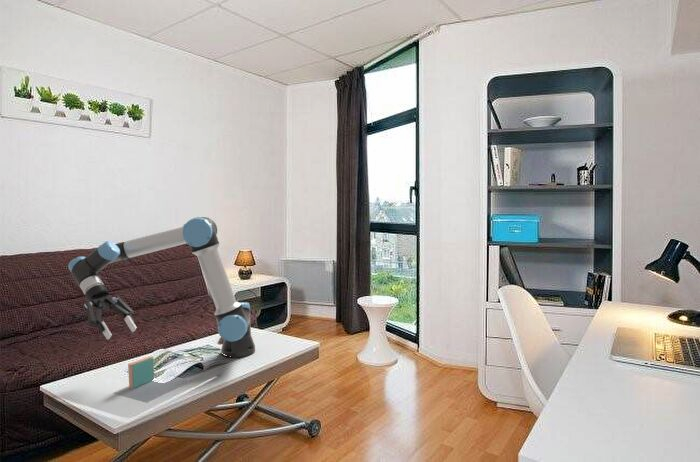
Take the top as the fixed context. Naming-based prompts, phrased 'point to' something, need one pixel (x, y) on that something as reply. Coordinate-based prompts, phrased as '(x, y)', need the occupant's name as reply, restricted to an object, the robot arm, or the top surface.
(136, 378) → the tile
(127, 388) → the board
